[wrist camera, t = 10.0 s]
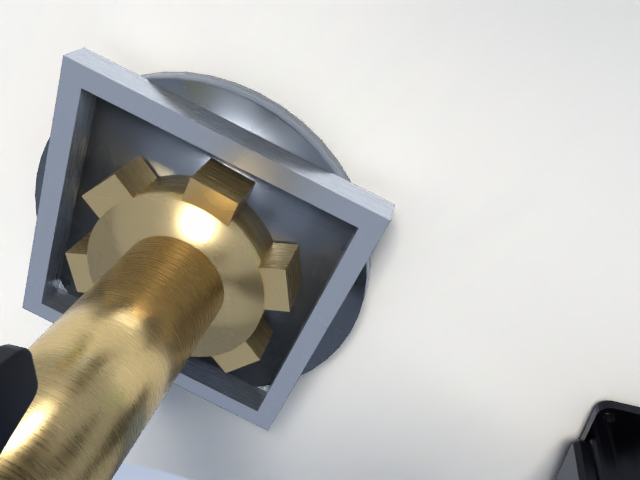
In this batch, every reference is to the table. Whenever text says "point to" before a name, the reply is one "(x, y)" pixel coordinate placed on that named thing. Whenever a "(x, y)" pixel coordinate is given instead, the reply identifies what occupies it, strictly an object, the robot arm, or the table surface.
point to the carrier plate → (265, 199)
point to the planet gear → (148, 314)
